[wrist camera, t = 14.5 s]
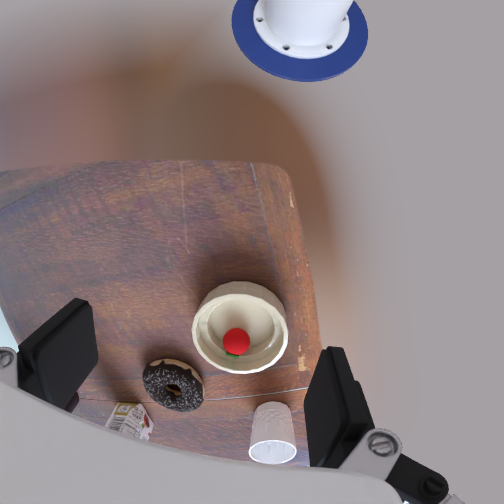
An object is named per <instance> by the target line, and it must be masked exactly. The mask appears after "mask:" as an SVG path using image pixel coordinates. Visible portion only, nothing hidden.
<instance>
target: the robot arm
mask: <svg viewBox="0 0 504 504" xmlns="http://www.w3.org/2000/svg"><path fill="white" fill-rule="evenodd" d="M352 2H353V0H259V1H258V2H257V4H256V6H255V9H254V14H253V20H254V26H255V29H256V31H257V33H258V35H259V36H260V38H261V39H262V40H263V41H264V42H265V43H266V44H267V45H268V46H269V47H271V48H272V49H274V50H275V51H277V52H279V53H281V54H284V55H287V56H290V57H294V58H299V59H314V58H320V57H324V56H327V55H329V54H331V53H333V52H335V51H336V50H337V49H339V48H340V47H341V45H342V44H343V43H344V41H345V40H346V38H347V36H348V33H349V18H348V16H347V11H348V9H349V8H350V6H351V4H352ZM258 21H261V22H258ZM327 47H328V48H330V49H327ZM285 48H287V49H288V50H284V49H285ZM18 348H19V352H18V353H16V352H15V351H14V350H13V349H12V348H9V347H0V504H465V503H464V502H463V501H461V500H460V499H459V498H458V497H457V496H456V495H455V494H453V496H450V495H449V494H448V490H449V488H448V483H447V481H446V480H445V478H444V477H443V476H442V475H440V474H439V473H437V472H435V471H433V470H431V469H429V468H427V467H425V466H423V465H421V464H419V463H418V462H416V461H414V460H412V459H411V458H409V457H407V456H405V455H403V454H401V451H402V443H401V440H400V438H398V436H397V435H396V434H395V433H393V432H391V431H389V430H386V429H382V428H377V429H375V426H374V423H373V420H372V417H371V414H370V411H369V408H368V405H367V402H366V400H365V396H364V394H363V391H362V388H361V385H360V383H359V382H358V381H355V380H354V378H353V375H352V372H351V369H350V366H349V363H348V360H347V358H346V355H345V352H344V349H343V348H341V347H332V346H328V347H327V349H326V350H324V349H323V350H322V351H321V354H320V357H319V360H318V363H317V366H316V369H315V371H314V374H313V377H312V380H311V383H310V385H309V388H308V391H307V393H306V396H305V399H304V413H305V421H306V430H307V440H308V449H309V459H310V467H306V466H290V465H277V464H266V463H257V462H249V461H241V460H234V459H227V458H221V457H215V456H209V455H204V454H199V453H194V452H189V451H185V450H181V449H176V448H172V447H168V446H164V445H160V444H157V443H153V442H150V441H146V440H143V439H139V438H136V437H133V436H130V435H127V434H124V433H121V432H118V431H115V430H112V429H109V428H106V427H104V426H101V425H98V424H96V423H93V422H91V421H88V420H86V419H83V418H81V417H78V416H76V415H74V414H71V413H69V412H67V411H65V410H63V409H64V408H65V406H66V405H67V404H68V402H69V401H70V399H71V398H72V397H73V395H74V394H75V393H76V391H77V390H78V388H79V387H80V386H81V384H82V383H83V382H84V380H85V379H86V378H87V376H88V375H89V374H90V372H91V371H92V370H93V368H94V367H95V366H96V364H97V362H98V351H97V344H96V337H95V330H94V321H93V312H92V307H91V306H90V305H89V303H88V301H86V300H82V299H79V298H74V299H73V300H72V301H70V302H69V303H68V304H67V305H66V306H64V307H63V308H62V309H61V310H59V311H58V312H57V313H56V314H55V315H53V316H52V317H51V318H50V319H49V320H47V321H46V322H45V323H44V324H43V325H42V326H40V327H39V328H38V329H37V330H36V331H35V332H33V333H32V334H31V335H30V336H29V337H28V338H27V339H25V340H24V341H23V342H22V343H21V344H20V345H19V346H18Z"/></svg>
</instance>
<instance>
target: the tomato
mask: <svg viewBox="0 0 504 504" xmlns="http://www.w3.org/2000/svg"><path fill="white" fill-rule="evenodd" d="M223 345H224V348H225V349H226V350H227V351H226V355H227V356H230V357H233V358H239V355H240V354H243V353H244V352H246V351H247V349H248V348H249V346H250V337H249V335H248V334H247V332H245V331H244V330H242V329H240V328H233V329H230V330H229V331H227V332H226V334H225V335H224V337H223Z"/></svg>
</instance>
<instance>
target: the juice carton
mask: <svg viewBox="0 0 504 504" xmlns="http://www.w3.org/2000/svg"><path fill="white" fill-rule="evenodd" d="M153 426H154V424H153V422H152V420H151V419H150V417H149V416H148V415H147V413H146V411H145V409H144V407H143V405H142V404H138V403H118V404H117V405H116V407H115V409H114V410H113V412H112V414H111V416H110V417H109V419H108V421H107V423H106V425H105V427H106V428H109V429H112V430H115V431H118V432H121V433H124V434H127V435H130V436H133V437H136V438H139V439H143V440H146V441H148V440H149V437H150V434H151V432H152V429H153Z"/></svg>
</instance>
